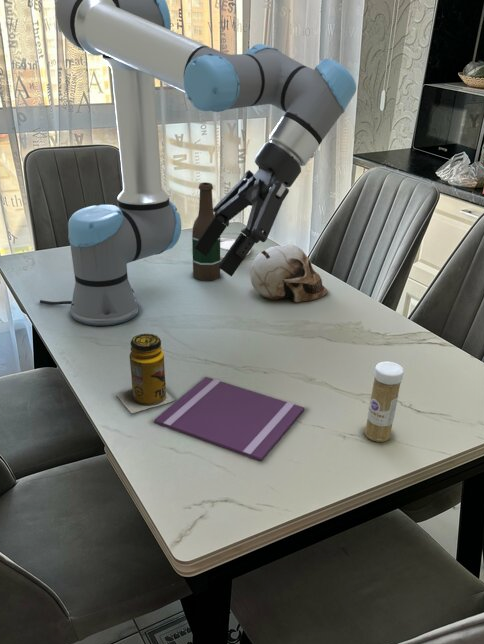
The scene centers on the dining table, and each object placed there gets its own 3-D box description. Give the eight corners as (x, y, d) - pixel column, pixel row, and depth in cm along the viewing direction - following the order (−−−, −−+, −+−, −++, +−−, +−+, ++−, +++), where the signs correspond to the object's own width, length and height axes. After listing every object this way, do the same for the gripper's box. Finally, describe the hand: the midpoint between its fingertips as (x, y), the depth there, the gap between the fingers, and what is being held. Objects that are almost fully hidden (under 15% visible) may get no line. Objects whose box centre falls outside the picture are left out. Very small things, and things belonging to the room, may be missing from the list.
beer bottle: (225, 273, 164) (226, 181, 151) (214, 283, 158) (214, 189, 144) (199, 268, 166) (197, 178, 153) (187, 278, 160) (184, 185, 146)
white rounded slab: (238, 225, 185) (265, 246, 170) (238, 239, 188) (265, 261, 172) (185, 230, 180) (209, 252, 164) (186, 244, 182) (209, 268, 166)
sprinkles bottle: (359, 435, 103) (369, 367, 96) (372, 424, 106) (384, 357, 99) (382, 446, 101) (395, 377, 93) (395, 434, 104) (409, 366, 96)
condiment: (174, 401, 110) (172, 343, 104) (131, 414, 106) (126, 355, 100) (157, 383, 115) (153, 326, 109) (115, 395, 111) (109, 337, 105)
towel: (154, 422, 104) (153, 419, 104) (205, 379, 117) (205, 376, 117) (261, 461, 96) (261, 458, 96) (304, 410, 109) (304, 407, 109)
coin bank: (332, 291, 155) (333, 241, 147) (292, 319, 145) (290, 267, 137) (284, 277, 163) (282, 229, 155) (242, 302, 153) (238, 252, 145)
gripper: (336, 179, 91) (254, 294, 95) (271, 160, 112) (206, 255, 115) (302, 146, 87) (218, 268, 91) (242, 133, 108) (175, 233, 111)
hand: (211, 261), depth 103 cm, fingers open, 13 cm apart
